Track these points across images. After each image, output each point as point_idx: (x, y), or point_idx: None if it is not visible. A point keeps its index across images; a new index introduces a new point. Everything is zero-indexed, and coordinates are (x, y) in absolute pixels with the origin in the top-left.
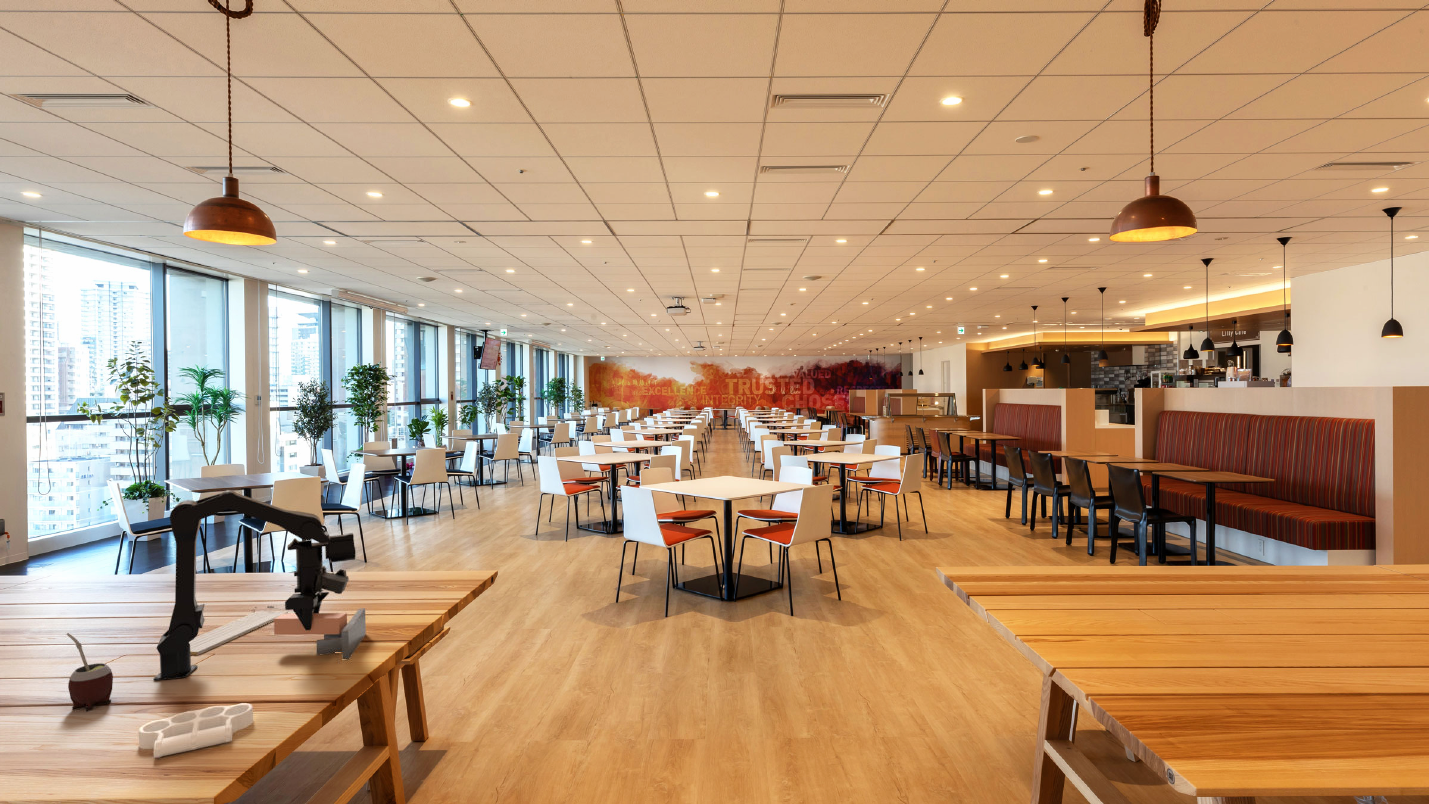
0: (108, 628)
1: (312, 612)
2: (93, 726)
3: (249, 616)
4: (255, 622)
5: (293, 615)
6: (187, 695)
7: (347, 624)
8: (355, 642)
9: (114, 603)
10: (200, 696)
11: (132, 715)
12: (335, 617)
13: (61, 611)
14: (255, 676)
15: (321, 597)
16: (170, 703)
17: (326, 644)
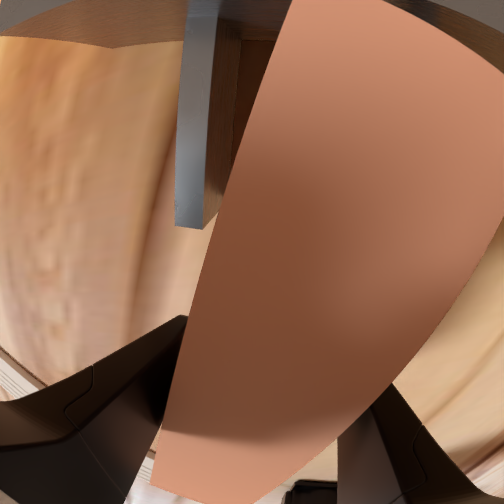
0: None
1: (447, 473)
2: (482, 487)
3: (7, 387)
4: (28, 389)
5: (198, 475)
6: (469, 456)
7: (493, 23)
8: None
9: None
10: (494, 438)
11: (485, 475)
12: (502, 152)
13: None
14: (469, 389)
15: (24, 475)
16: (484, 460)
17: None
